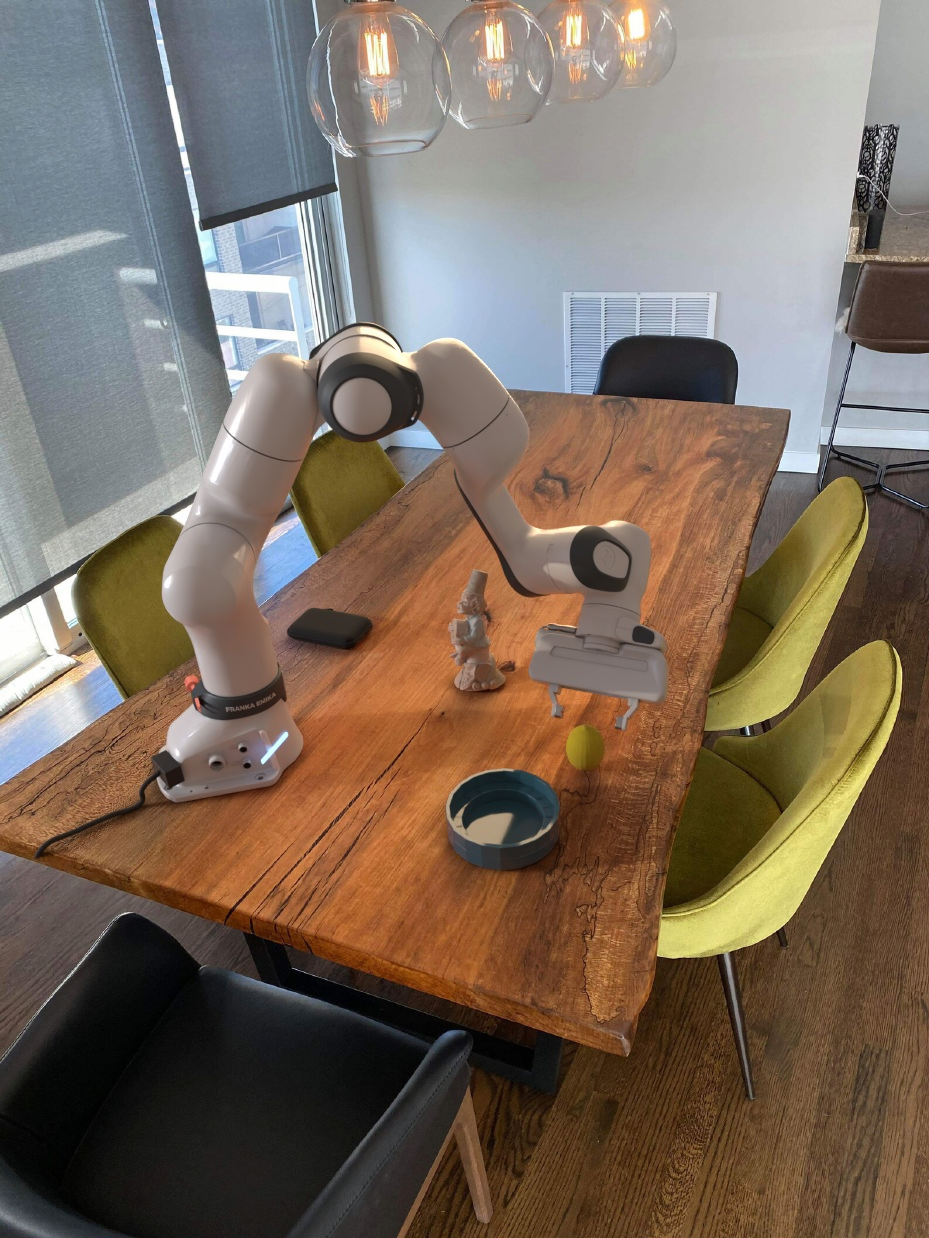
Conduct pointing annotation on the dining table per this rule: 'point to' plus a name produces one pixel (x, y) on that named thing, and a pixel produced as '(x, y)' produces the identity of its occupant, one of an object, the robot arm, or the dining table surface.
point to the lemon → (585, 747)
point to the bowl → (503, 818)
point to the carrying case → (330, 628)
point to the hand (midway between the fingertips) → (588, 723)
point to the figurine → (474, 640)
